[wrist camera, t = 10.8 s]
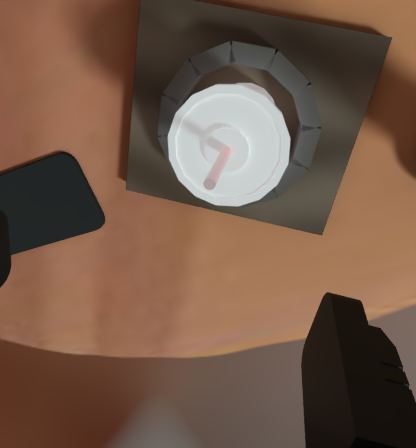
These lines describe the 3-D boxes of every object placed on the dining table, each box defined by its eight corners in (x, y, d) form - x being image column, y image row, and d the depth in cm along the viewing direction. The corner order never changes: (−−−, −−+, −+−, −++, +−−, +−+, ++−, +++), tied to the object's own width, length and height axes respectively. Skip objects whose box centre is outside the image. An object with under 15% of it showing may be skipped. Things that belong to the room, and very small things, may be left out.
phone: (108, 227, 34) (-19, 264, 38) (111, 223, 34) (-13, 260, 39) (68, 148, 31) (-63, 198, 35) (73, 146, 32) (-56, 194, 36)
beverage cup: (233, 50, 25) (183, 60, 12) (307, 105, 26) (330, 167, 13) (185, 127, 28) (105, 198, 15) (253, 175, 28) (230, 280, 16)
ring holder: (146, -8, 25) (126, -15, 22) (387, 37, 24) (403, 37, 21) (131, 184, 32) (113, 201, 28) (320, 228, 30) (325, 251, 27)
